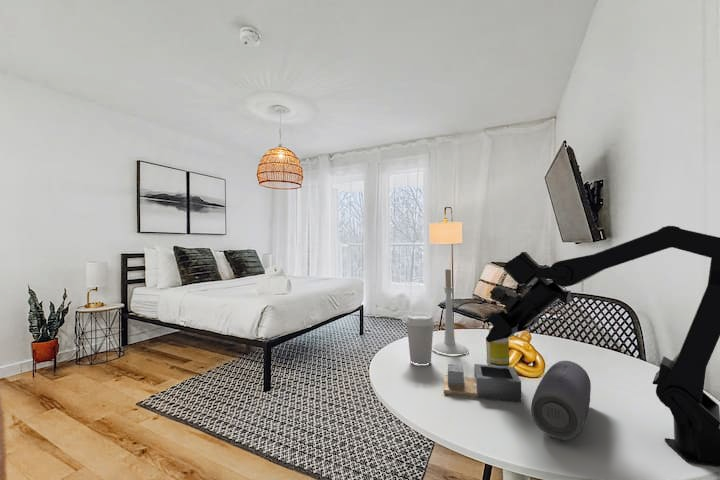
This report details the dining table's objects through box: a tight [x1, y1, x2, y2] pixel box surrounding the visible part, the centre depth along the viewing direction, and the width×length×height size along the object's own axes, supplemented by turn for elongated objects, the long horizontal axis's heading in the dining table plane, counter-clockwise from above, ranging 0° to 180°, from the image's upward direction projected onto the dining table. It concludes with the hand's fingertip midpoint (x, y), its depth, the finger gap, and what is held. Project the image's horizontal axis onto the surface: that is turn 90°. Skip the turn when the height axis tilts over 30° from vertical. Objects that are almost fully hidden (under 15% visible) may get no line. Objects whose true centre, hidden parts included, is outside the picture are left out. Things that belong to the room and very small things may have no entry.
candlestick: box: [432, 268, 469, 354], centre depth 116 cm, size 13×13×30 cm
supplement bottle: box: [485, 325, 510, 368], centre depth 83 cm, size 5×5×10 cm
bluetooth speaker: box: [530, 360, 592, 440], centre depth 69 cm, size 23×9×10 cm, turn 141°
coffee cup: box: [405, 313, 436, 364], centre depth 104 cm, size 10×10×15 cm
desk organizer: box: [443, 363, 523, 404], centre depth 83 cm, size 10×18×5 cm, turn 73°
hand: (492, 338), depth 84 cm, fingers closed on supplement bottle, 5 cm apart
